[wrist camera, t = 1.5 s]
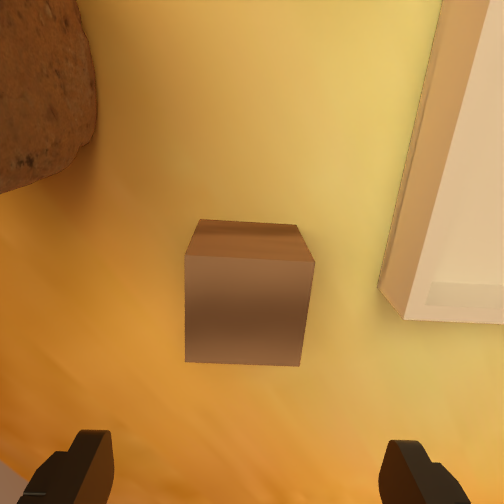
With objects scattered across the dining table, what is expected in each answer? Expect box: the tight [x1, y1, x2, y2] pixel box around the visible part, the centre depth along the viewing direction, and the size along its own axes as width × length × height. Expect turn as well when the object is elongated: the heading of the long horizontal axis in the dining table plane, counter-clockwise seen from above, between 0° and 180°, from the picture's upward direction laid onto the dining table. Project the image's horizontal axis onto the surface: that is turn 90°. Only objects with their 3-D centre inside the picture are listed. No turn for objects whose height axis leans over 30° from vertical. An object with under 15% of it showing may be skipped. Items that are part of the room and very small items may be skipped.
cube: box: [185, 219, 315, 366], centre depth 19 cm, size 6×6×6 cm
